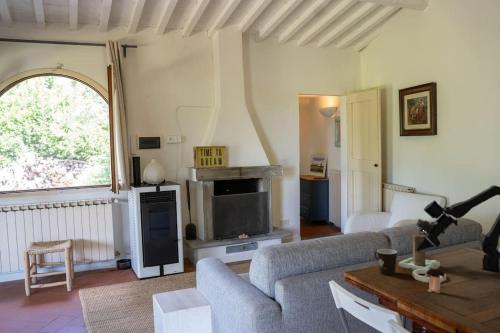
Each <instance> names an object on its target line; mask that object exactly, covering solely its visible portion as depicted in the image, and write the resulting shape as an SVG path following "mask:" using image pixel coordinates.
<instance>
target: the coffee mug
mask: <svg viewBox="0 0 500 333" xmlns="http://www.w3.org/2000/svg"><path fill="white" fill-rule="evenodd" d="M397 256H398V251H397V250H395V249H390V248H380V249H377V250H375V251H374V257H375V260H376V261H377V263H378V267H379V274H381V275H383V276H394V275H395V274H396V266H397Z"/></svg>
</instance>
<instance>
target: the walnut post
mask: <svg viewBox="0 0 500 333" xmlns="http://www.w3.org/2000/svg"><path fill="white" fill-rule="evenodd" d="M423 236H424V235H419V234H412V257H413V264H414V265H416V266H426V265H425V259H426V249H423V250H420V251H417V248H418V247H419V245H420V244H421V243H422V242H423ZM424 237H425V236H424Z"/></svg>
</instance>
